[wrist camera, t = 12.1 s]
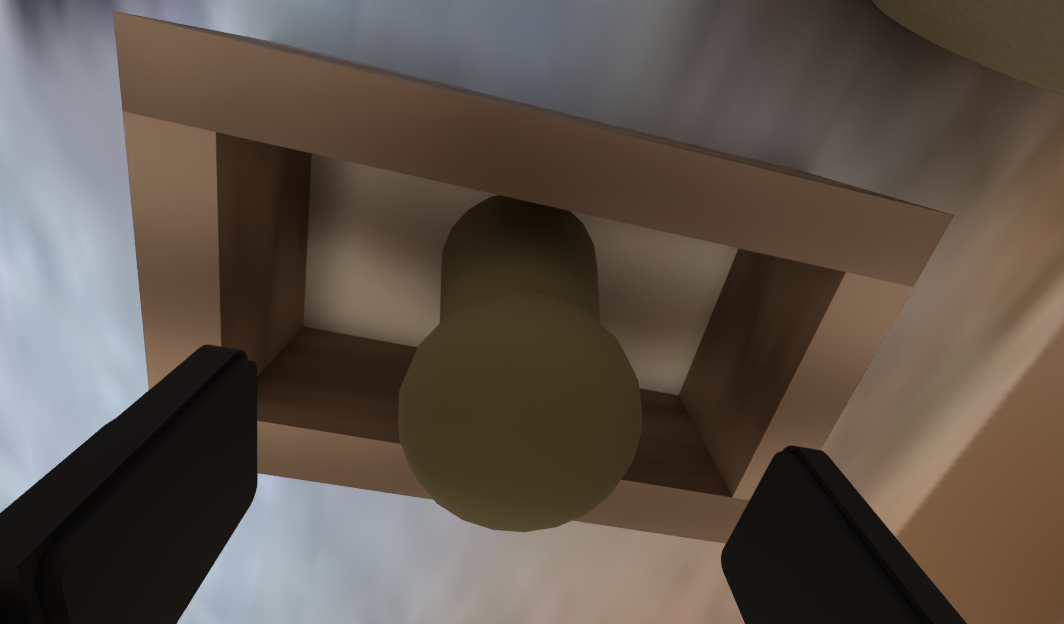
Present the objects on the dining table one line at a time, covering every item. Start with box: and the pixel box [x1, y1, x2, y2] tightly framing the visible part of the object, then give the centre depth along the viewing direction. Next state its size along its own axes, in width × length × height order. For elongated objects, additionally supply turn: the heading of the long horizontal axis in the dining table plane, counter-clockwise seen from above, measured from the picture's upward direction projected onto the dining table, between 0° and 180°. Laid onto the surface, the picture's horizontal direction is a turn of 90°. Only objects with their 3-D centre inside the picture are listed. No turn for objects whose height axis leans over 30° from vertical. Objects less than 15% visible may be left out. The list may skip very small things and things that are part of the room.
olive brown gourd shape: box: [398, 195, 642, 532], centre depth 14 cm, size 6×6×11 cm
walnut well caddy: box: [113, 11, 954, 543], centre depth 17 cm, size 12×20×7 cm, turn 77°
